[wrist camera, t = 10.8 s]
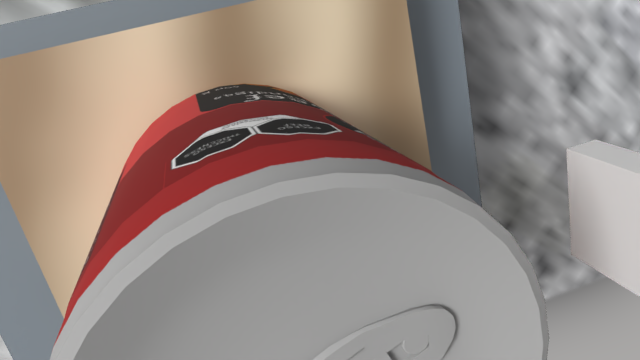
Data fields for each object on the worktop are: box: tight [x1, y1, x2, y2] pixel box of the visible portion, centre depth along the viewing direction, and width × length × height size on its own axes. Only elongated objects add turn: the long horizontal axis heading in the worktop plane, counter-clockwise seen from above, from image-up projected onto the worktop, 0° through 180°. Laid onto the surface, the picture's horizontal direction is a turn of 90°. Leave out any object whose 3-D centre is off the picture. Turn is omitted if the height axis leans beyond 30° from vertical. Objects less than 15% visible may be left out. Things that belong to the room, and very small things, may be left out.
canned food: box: [50, 83, 549, 360], centre depth 13 cm, size 8×8×11 cm
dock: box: [0, 0, 482, 360], centre depth 22 cm, size 20×15×6 cm
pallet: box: [0, 0, 432, 318], centre depth 19 cm, size 14×12×2 cm
